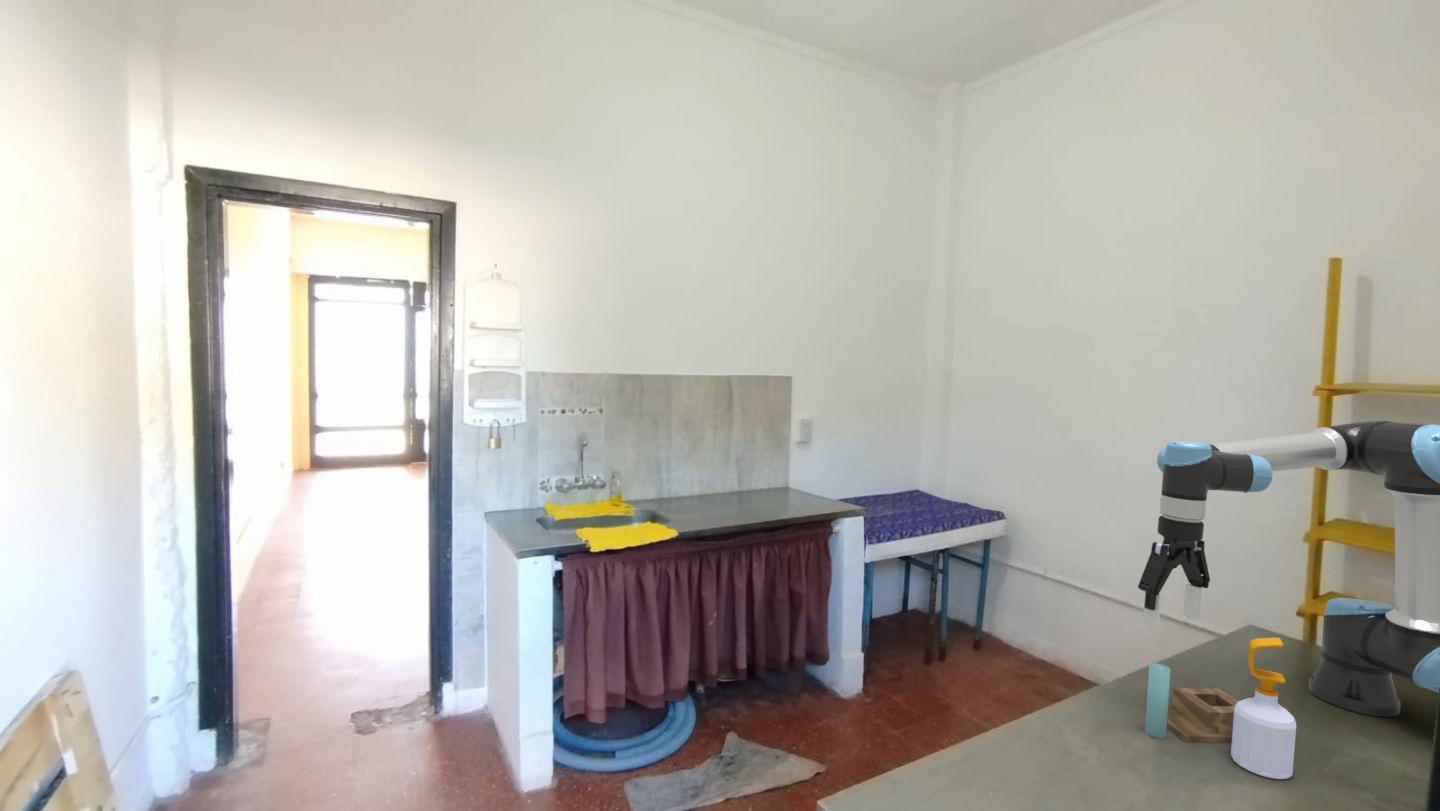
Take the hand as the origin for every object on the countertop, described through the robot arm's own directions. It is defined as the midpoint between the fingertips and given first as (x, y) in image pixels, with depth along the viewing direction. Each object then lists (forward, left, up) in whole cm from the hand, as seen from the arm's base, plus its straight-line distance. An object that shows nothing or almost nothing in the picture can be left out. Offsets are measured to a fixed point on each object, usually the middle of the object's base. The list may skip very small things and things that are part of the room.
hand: (1171, 620), depth 134 cm
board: (-12, -2, -23) cm, 26 cm away
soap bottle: (-11, +11, -24) cm, 28 cm away
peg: (+2, +1, -23) cm, 23 cm away
